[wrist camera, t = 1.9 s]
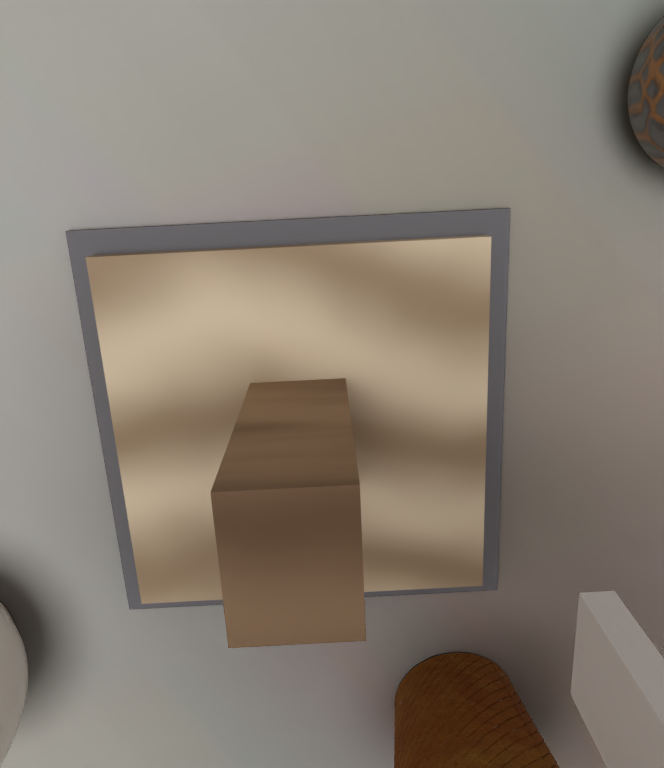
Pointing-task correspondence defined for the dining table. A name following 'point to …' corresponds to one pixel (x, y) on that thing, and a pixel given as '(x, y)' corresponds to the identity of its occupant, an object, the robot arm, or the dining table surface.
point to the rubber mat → (295, 234)
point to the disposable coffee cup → (464, 718)
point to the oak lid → (299, 424)
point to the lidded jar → (11, 680)
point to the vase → (649, 95)
